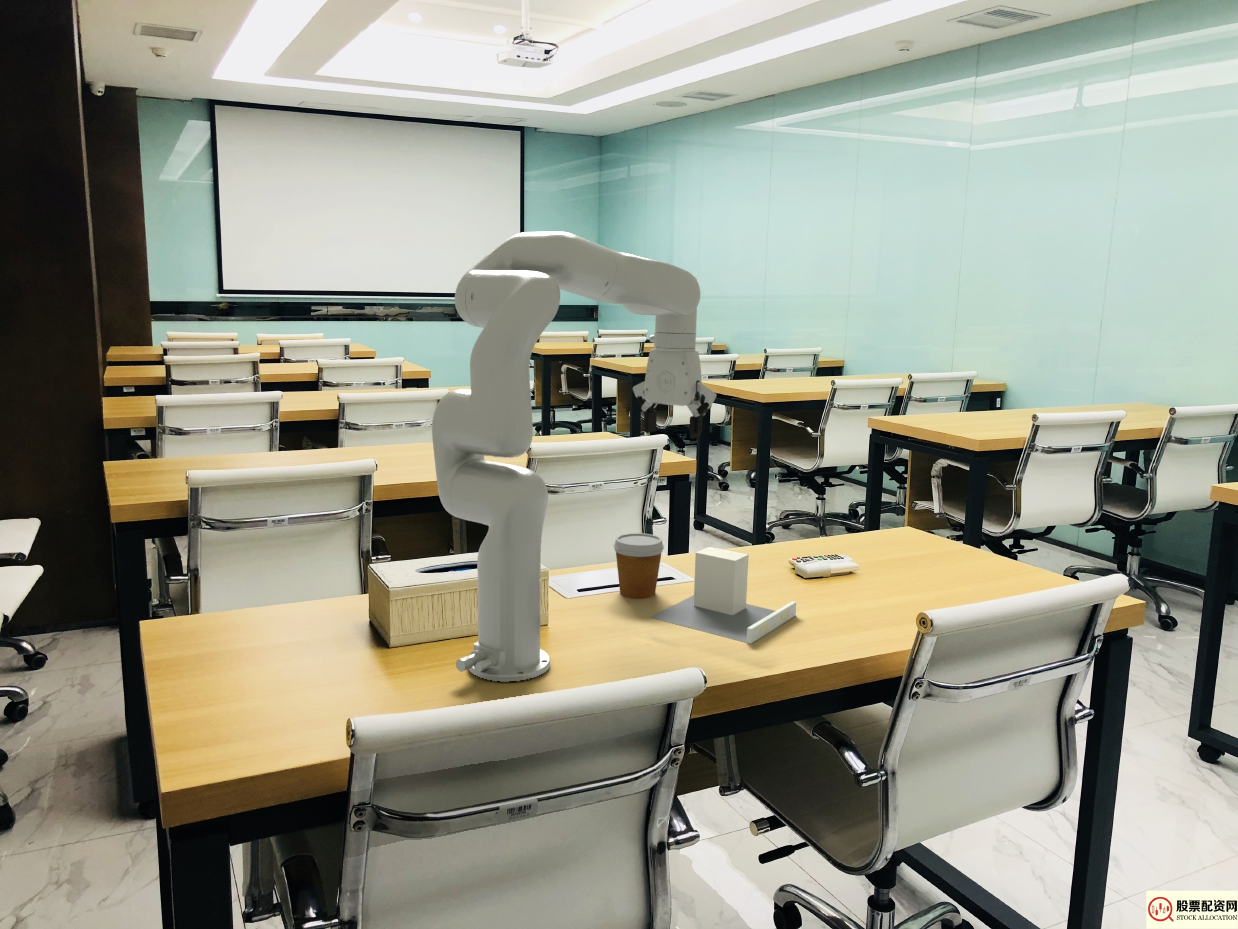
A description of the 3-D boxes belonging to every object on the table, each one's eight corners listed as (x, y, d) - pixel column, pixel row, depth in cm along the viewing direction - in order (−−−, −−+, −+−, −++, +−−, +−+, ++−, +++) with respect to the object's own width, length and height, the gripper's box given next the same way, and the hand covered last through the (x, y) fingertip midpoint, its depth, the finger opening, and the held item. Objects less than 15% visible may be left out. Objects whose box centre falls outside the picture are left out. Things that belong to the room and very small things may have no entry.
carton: (732, 615, 164) (735, 560, 162) (693, 605, 168) (695, 552, 166) (747, 607, 168) (749, 554, 166) (708, 598, 173) (710, 546, 171)
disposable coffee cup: (643, 612, 168) (644, 549, 166) (601, 601, 174) (603, 539, 172) (672, 599, 176) (674, 538, 174) (632, 589, 181) (633, 529, 179)
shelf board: (751, 652, 151) (752, 629, 150) (649, 625, 162) (649, 603, 161) (796, 623, 164) (797, 602, 164) (698, 600, 176) (699, 580, 175)
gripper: (624, 341, 172) (622, 432, 175) (706, 345, 162) (703, 442, 166) (646, 339, 178) (643, 427, 181) (726, 344, 169) (722, 437, 172)
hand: (672, 434), depth 173 cm, fingers open, 9 cm apart
